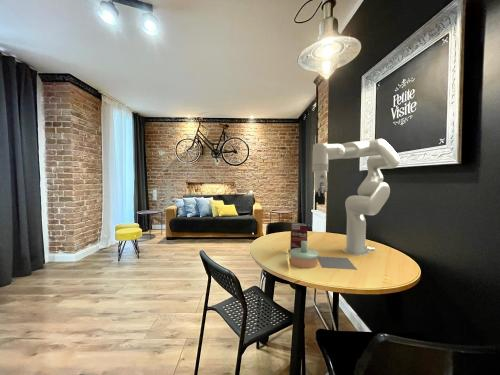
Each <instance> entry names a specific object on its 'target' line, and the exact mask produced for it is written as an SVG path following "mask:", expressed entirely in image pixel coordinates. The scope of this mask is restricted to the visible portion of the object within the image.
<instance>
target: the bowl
mask: <svg viewBox="0 0 500 375" xmlns="http://www.w3.org/2000/svg"><path fill="white" fill-rule="evenodd" d="M318 263H319V260H318V258H315V259H299V258H295V257H293V256H291V255H290V264H291V265H292V266H295V267H298V268H301V269H313V268H315V267H317V266H318Z"/></svg>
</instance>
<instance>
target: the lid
mask: <svg viewBox="0 0 500 375" xmlns="http://www.w3.org/2000/svg"><path fill="white" fill-rule="evenodd" d="M289 255H290V257H291V256H293V257H295V258H299V259H315V258H318V256H319V252H318V251H317V250H315V249H313V248H308V240H307V241H301V248H294V249H291V250H289ZM319 257H320V256H319Z"/></svg>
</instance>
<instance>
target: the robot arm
mask: <svg viewBox="0 0 500 375" xmlns="http://www.w3.org/2000/svg"><path fill="white" fill-rule="evenodd" d="M366 157H368V158H367V159H366V166H367V176H365V178H364V179H363V181H362V182H361V184H360V185H359V186H358V188H357V194H358V195H356V194H355V195H350V196H348V197H347V198H346V199H345V203H344V204H345V205H344V206H345V211H346V212H345V213H346V244H345V246H346V247H345V248H343V250H342V251H343V252H344V253H346V254H349V255H353V256H368V255H369V252H375V251H376V248H375V247H371V246H367V245H366V239H367V238H366V237H367V236H366V234H367V221H366V218H365V216H375V215H377V214H378V213H379V212H380V211H381V210H382V207H383V206H384V205H385V204H386V202H387V200H389V197H390V193H391V188H390V186H389V184H388V183H387V182H385V181H384V175H383V173H382V171H381V170H382V169H383V170H385V169H389V170H390V169H396V168H397V167H398V166H399V164H400V161H401V160H400V157H399V154H398V153H397V152H396V150H395V149H394V148H393V146H391V144H389V142H387V140H385V139H383V138H377V139H372V140H371V139H370V140H364V141H363V140H362V141H350V142H344V143H324V142H317V143H314V144H313V145H312V168H311V169H312V170H311V172H313V173H314V176H313V178H314V179H313V181H314V182H313V186H314V188H313V189H314V203H317V205H319V206H321V205H322V206H325V204H326V193H328V172H329V161H330V160H338V159H355V158H366Z"/></svg>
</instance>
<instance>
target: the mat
mask: <svg viewBox="0 0 500 375" xmlns="http://www.w3.org/2000/svg"><path fill="white" fill-rule="evenodd" d="M318 263H319V264H320V266H321V268H322V269H336V270H337V269H339V270H341V269H342V270H356V271H357V270H358V268H356V266H355V265H354V263H352V262H351V260H350V259H349V258H348V257H339V256H337V257H335V256H318Z"/></svg>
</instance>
